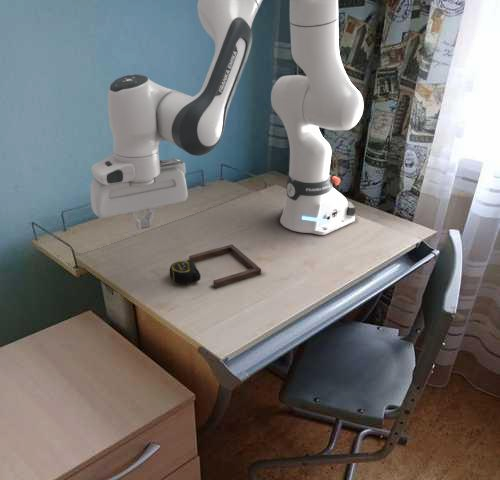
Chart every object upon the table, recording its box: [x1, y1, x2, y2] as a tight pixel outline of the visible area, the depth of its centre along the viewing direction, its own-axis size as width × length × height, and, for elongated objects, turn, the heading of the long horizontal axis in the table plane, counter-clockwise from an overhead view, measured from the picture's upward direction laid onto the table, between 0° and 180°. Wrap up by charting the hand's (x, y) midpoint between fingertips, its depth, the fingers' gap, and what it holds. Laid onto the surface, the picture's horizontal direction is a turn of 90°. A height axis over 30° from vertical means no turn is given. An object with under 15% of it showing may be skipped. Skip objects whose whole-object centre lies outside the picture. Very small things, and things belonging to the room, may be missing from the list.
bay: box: [188, 243, 262, 289], centre depth 129 cm, size 13×14×2 cm
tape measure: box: [169, 259, 201, 285], centre depth 123 cm, size 7×7×4 cm
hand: (144, 227), depth 111 cm, fingers closed
